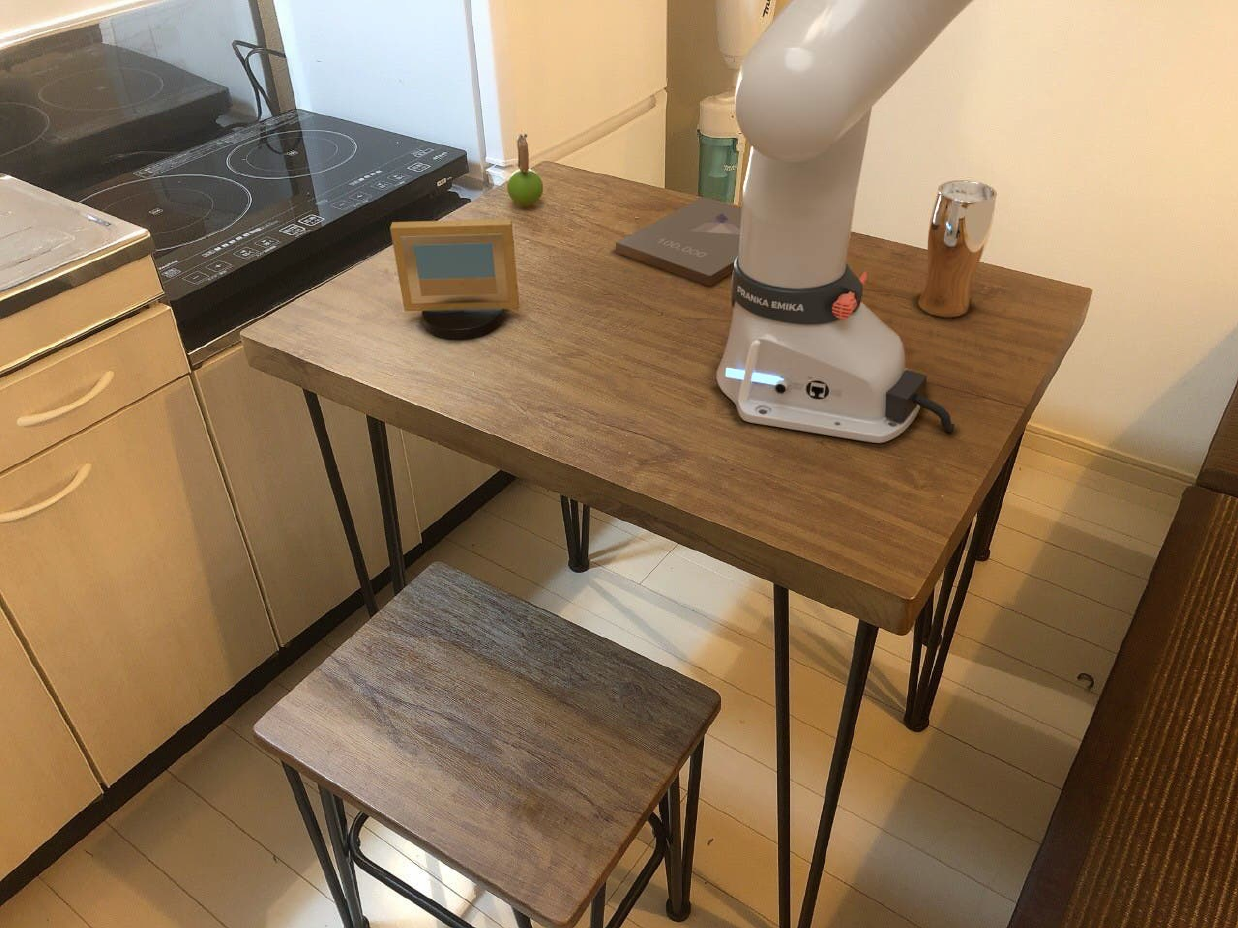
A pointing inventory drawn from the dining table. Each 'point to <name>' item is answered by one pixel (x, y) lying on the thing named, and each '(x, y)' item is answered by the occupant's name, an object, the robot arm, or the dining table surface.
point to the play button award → (690, 241)
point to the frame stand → (462, 323)
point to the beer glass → (956, 245)
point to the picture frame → (456, 264)
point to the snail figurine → (524, 178)
